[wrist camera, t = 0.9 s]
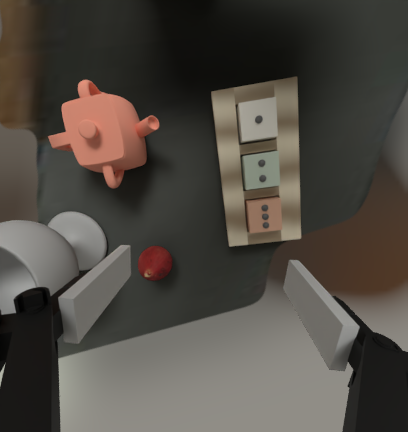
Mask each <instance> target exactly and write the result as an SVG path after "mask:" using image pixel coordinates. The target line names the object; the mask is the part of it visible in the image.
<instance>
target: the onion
mask: <svg viewBox="0 0 408 432" xmlns="http://www.w3.org/2000/svg"><path fill="white" fill-rule="evenodd" d="M138 269H139V272H140V274H141V275H142V276H143V277H144V278H145V279H147V280H151V281H156V280H160V279H162V278H164V277H165V276H167V274H168V273H169V272H170V270H171V269H172V257H171V255H170V253H169V252H168V251H167V250H166V249H165V248H163V247H160V246H152V247H148V248H147V249H146V250H144V251H143V252H142V254H141V255H140V257H139V260H138Z"/></svg>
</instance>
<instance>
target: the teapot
mask: <svg viewBox="0 0 408 432" xmlns="http://www.w3.org/2000/svg"><path fill="white" fill-rule="evenodd" d="M78 92H79V96H80V98H79V99H76V100H72V101H69V102H66V103H64V104H63V105H62V116H63V120H64V125H65V129H66V132H63V133H60V134H56V135H52V136H48V137H49V140H50V143H51V145H52V148H55V149H60V150H65V151H73V152H74V154H75V156H76V158H77V160H78V162H79V164H80V165H81V166H83V167H85V168H87V169H89V170H92V171H95V172H101V173H104V177H105V180H106V182H107V184H108V186H109V187H110V188H117V187H118V186H119V185H120V184H121V181H122V178H123V175H124V170H129V169H133V168H136V167H139V166H142V165H144V164H145V163H146V160H147V152H146V143H145V136H146V135H148V134H150V133H152V132H153V131H155V130H157V129H158V128H159V121H158V119H157V118H156V117H154V116H149V117H147V118H145V119H144V120H142V121H140V120H139V117H138V115H137V112H136V110H135V108H134V107H133V105H132V104H131V103H130V102H129V101H127V100H126V99H124V98H122V97H120V96H116V95H112V94H106V93H104V92H100V91H99V89H98V88H97V87H96V86H95V85H94V84H93V83H92V82H91V81H89V80H83V81H81V82H80V83H79V85H78ZM90 94H91V95H92V96H91V95H90ZM114 172H115V175H114Z"/></svg>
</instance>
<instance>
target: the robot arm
mask: <svg viewBox="0 0 408 432" xmlns="http://www.w3.org/2000/svg"><path fill="white" fill-rule="evenodd" d="M130 276H131V255H130V246H128V245H121V246H119V247H118V248H117V249H116V250H115V251H113V252H112V253H111V254H110V255H109V256H107V257H106V258H105V259H104V260H103V261H101V262H100V263H99V264H98V265H97V266H95V267H94V268H93V269H92V270H91V271H89V272H88V273H87V274H84V273H83V274H81V275H79V276H76V277H74V278H73V279H72V280H71V281H69V282H68V283H67V284H66V285H64V286H63V288H61V289H59V290H58V291H57V292H55V293H54V294H53V295H52V296H50V290H49V288H47V287H36V288H31V289H28V290H26V291H24V292H21V293H20V294H18V295H17V296H16V297H15V298H14V300H13V301H14V305H15V310H16V313H11V314H4V315H1V310H0V372H1V370H2V368H3V366H4V364H5V363H6V364H5V368H4V373H3V377H2V382H1V386H0V432H60V406H59V405H60V402H59V371H58V370H59V369H58V343H57V339H58V338H59V337H60V336H61V335H62V334H63V336H64V342H68V343H77V344H78V343H79V342H80V341H81V340H82V338H83V337H84V336H85V334H86V333H87V332H88V330H89V329H90V328H91V327H92V325H93V324H94V323H95V321H96V320H97V319H98V317H99V316H100V315H101V314H102V312H103V311H104V310H105V308H106V307H107V306H108V304H109V303H110V302H111V301H112V299H113V298H114V297H115V295H116V294H117V293H118V291H119V290H120V289H121V287H122V286H123V285H124V284H125V282H126V281H127V280H128V278H129V277H130ZM283 290H284V292H285V293H286V295H287V297H288V298H289V300H290V302H291V303H292V305H293V307H294V308H295V311H296V312H297V314H298V316H299V318H300V319H301V321H302V323H303V325H304V326H305V328H306V330H307V331H308V333H309V335H310V337H311V338H312V340H313V342H314V344H315V345H316V347H317V349H318V350H319V352H320V354H321V356H322V358H323V359H324V361H325V363H326V364H327V366H328V368H329V370H338V371H345V369H346V366H347V362H349V364H350V365H351V367H352V368H353V373H352V376H351V378H350V381H349V384H348V387H349V388H350V389H349V395H348V401H347V407H346V413H345V419H344V426H343V432H408V352H405V351H402V349H401V348H400V347H399V346H398V345H397V344H396V343H395V342H393V341H392V340H391V339H389V338H387V337H385V336H383V335H381V334H379V333H375V332H373V331H372V330H371V329H370V328H369V327H368V326H367V325H366V324H365V323H364V322H363V321H362V320H361V319H360V318H359V317H358V316H357V315H355V313H354V312H353V311H352V310H350V308H349V307H348V306H347V305H346V304H345V303H344V302H343V301H342V300H340V299H339V298H337V297H336V296H331V295H330V294H329V293H328V292H327V291H326V290H325V289H324V288H323V287H322V285H321V284H320V283H319V282H318V281H317V280H316V279H315V278H314V277H313V276H312V275H311V273H310V272H309V271H308V270H307V269H306V268H305V267H304V266H303V265H302V264H301V263H300V262H299V261H298V260H289V263H288V268H287V273H286V278H285V282H284V287H283Z"/></svg>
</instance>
